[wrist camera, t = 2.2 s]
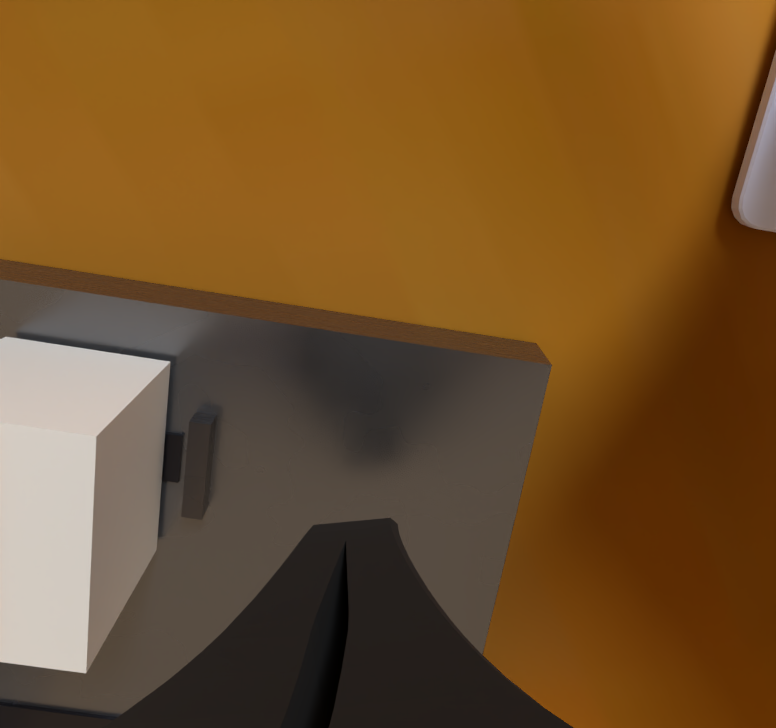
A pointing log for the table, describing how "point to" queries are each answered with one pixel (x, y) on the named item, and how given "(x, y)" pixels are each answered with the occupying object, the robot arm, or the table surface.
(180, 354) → the console
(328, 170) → the table surface
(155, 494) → the fader
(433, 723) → the robot arm
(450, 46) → the table surface
